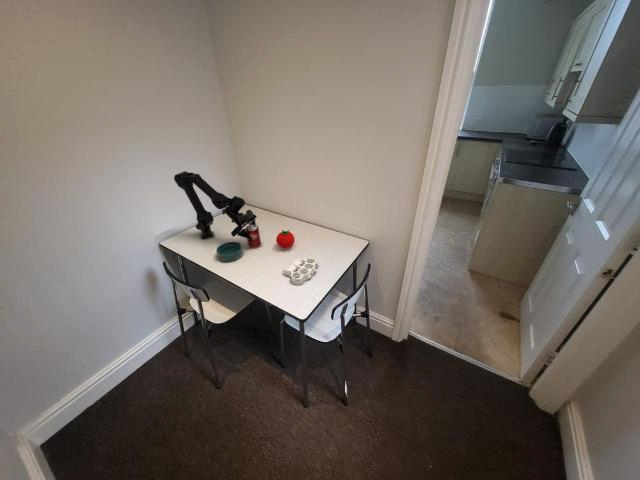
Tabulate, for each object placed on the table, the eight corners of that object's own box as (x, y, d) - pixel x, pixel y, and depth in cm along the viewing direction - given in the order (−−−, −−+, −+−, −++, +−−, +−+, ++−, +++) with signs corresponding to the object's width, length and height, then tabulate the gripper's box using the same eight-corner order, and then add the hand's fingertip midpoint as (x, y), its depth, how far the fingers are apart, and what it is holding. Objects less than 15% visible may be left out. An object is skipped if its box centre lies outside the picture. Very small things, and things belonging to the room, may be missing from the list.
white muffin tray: (299, 258, 137) (323, 266, 131) (279, 277, 123) (304, 288, 117) (299, 253, 135) (323, 261, 129) (278, 272, 122) (304, 282, 116)
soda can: (258, 249, 144) (255, 231, 137) (246, 248, 145) (242, 229, 139) (263, 242, 150) (260, 224, 143) (251, 241, 151) (248, 223, 145)
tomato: (273, 246, 146) (271, 231, 141) (286, 239, 152) (285, 225, 147) (285, 254, 140) (283, 238, 135) (298, 246, 146) (298, 231, 141)
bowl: (213, 254, 140) (211, 248, 137) (235, 245, 147) (234, 238, 145) (225, 265, 132) (223, 258, 129) (247, 255, 139) (246, 248, 137)
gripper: (231, 215, 128) (253, 237, 131) (251, 200, 143) (271, 221, 146) (221, 226, 135) (243, 247, 138) (242, 211, 150) (260, 230, 153)
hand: (255, 236), depth 143 cm, fingers closed on soda can, 7 cm apart
